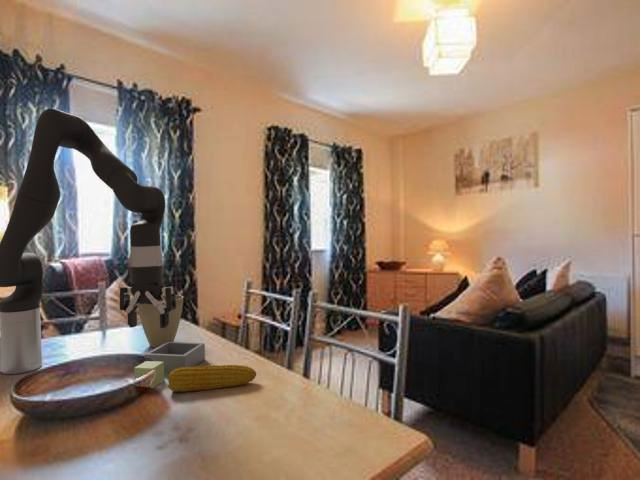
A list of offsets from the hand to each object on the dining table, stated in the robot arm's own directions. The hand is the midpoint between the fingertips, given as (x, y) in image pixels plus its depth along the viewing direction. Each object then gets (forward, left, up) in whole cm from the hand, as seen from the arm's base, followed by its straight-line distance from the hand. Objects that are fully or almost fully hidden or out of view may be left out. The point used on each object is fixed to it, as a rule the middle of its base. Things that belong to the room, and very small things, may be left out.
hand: (148, 327), depth 100 cm
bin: (0, +13, -15) cm, 20 cm away
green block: (0, 0, -15) cm, 15 cm away
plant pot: (-16, +32, -15) cm, 39 cm away
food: (+17, 0, -15) cm, 23 cm away
